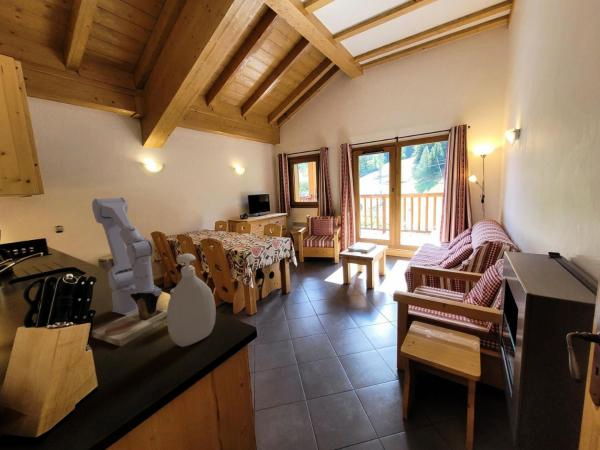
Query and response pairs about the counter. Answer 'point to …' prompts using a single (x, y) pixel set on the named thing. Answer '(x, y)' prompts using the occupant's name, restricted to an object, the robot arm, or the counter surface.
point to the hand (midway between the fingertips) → (147, 311)
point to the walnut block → (144, 310)
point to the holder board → (129, 327)
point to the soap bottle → (190, 307)
